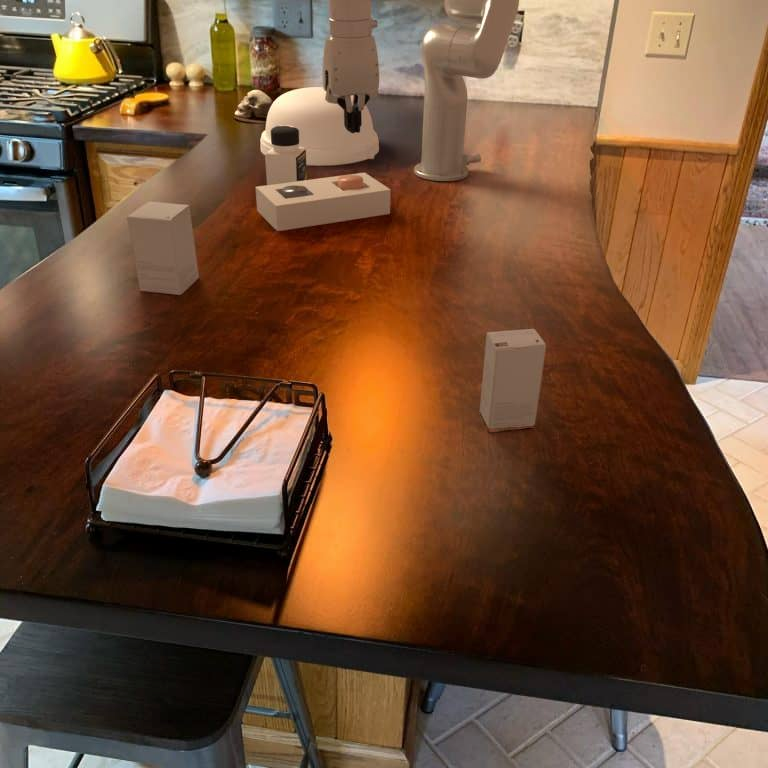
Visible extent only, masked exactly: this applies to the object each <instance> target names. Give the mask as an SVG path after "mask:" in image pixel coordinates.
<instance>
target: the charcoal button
mask: <svg viewBox="0 0 768 768" xmlns="http://www.w3.org/2000/svg"><path fill="white" fill-rule="evenodd" d="M282 196H283V197H284V198H285V199H288V198H295V197H302V196H308V191H307V188H306V187H303V186H296V185H294V186H287V187H284V188H282Z"/></svg>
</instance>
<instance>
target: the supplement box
mask: <svg viewBox="0 0 768 768" xmlns="http://www.w3.org/2000/svg"><path fill="white" fill-rule="evenodd" d="M190 208H191V207H190V205H189V204H179V203H178V204H177V203H170V202H168V203H167V202H159V201H147V202H146V203H144V204H143V205H141V206H140V207H139V208H137V209H136V210H135V211H133V212H131V213H130V214H129V215H127V216H126V220H127V225H128V229H129V235H130V236H129V237H130V240H131V241H130V242H131V246H132V252H133V259H134V264H135V270H136V274H137V275H136V276H137V280H138V286H139V290H140V291H141V292H148V293H149V292H150V293H160V294H168V295H177V296H181V295H183V294H184V293H185V292H186V291H187V290H188V289H189V288H190V287H191V286H192V285H193V284H194V283H195V282H197V280H198V279H199V278H200V275H199V268H198V261H197V253H196V245H195V236H194V231H193V223H192V214H191V209H190Z"/></svg>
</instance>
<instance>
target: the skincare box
mask: <svg viewBox="0 0 768 768" xmlns="http://www.w3.org/2000/svg"><path fill="white" fill-rule="evenodd" d="M546 349H547V344H546V343H545V341H544V340H543V338H542V337H541V336H540V334H539V333H538V332H537V331H536V329H535V328H526V329H525V328H524V329H514V330H512V329H511V330H501V331H489V332H488V331H487V333H486V337H485V347H484V360H483V369H482V370H483V372H482V380H481V381H482V382H481V390H480V391H481V392H480V393H481V394H480V404H479V412H481V414H482V416H483V418H484V420H485V422H486V424H487V426H488V428H491V429H493V428H494V429H495V428H505V427H506V428H507V427H522V426H533V425H535V426H536V419H537V414H538V413H537V411H538V407H539V406H538V405H539V399H540V393H541V385H542V377H543V372H544V371H543V370H544V363H545V358H546V357H545V356H546V352H547V351H546Z"/></svg>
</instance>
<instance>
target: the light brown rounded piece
mask: <svg viewBox="0 0 768 768" xmlns="http://www.w3.org/2000/svg"><path fill="white" fill-rule="evenodd" d="M339 176H340V177H339V178H338V187H339V188H340V189H341V190H343V191H345V190H353V189H360V188H363V178H362V177H361V176H357V175H350V174H343V176H342V175H339Z"/></svg>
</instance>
